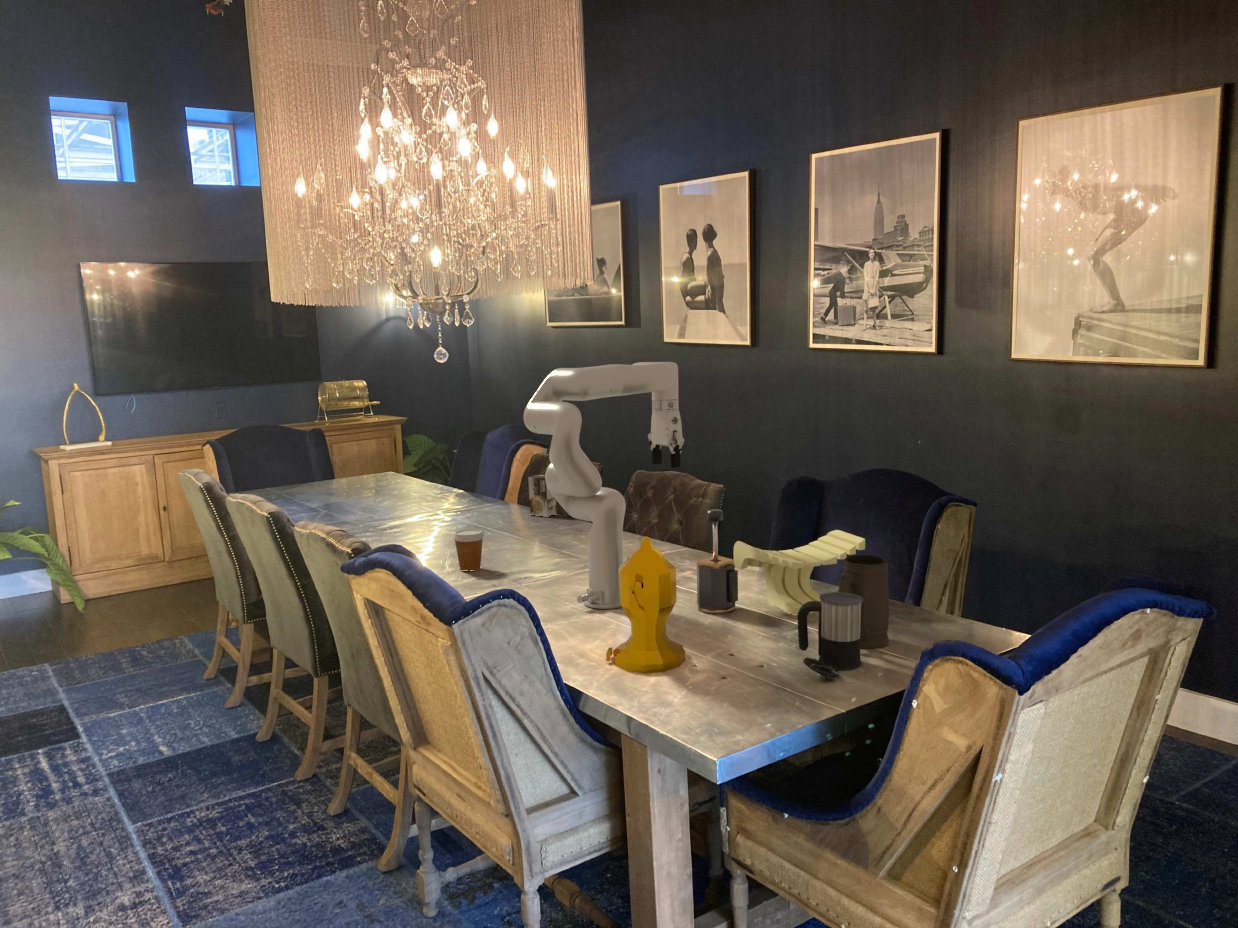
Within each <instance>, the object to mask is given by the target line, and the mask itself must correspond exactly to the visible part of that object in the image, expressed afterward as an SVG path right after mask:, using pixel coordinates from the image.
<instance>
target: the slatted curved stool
mask: <svg viewBox="0 0 1238 928" xmlns="http://www.w3.org/2000/svg"><path fill="white" fill-rule="evenodd" d="M857 550H858V551H863V550H866V538H863V537H862V536H857V535H855V534H852V533H849V532H845V531H843V530H840V529H834V530H831V531H829V532H827V533H826V535H823V536H821V537H818V538H817V540H814V541H811V542H809V543H808V544H806V545H803V546H802V545H801V546H800V547H799V546H798V547H795V548H793V549H792V548H791V549H785V550H778V551H777V550H768V549H767V550H766V549H761V548H759V547H754V546H751V545H749V544H747V543H745V542H743V541H740V540H737V541H735V543H734V545H733V553H732V554H733V560H734V565H735V568H737V569H739V570H740V571H741V570H744V569H747V568H748V567H749V566H750V567H751V568H752V567H753V568H754V567H761V571H762V572H763V576H764V580H765V587H766V589H765V590H766V595H765V596H766V602H767V601H768V602H770V603H772V604H774V605H776V606H777V607H779V608H781V609H783V610H785V611H787V612H789V613H790V614H792V615H794V614H798V611H799V609H800V608H801V606H802V605H803V604H805V603H807V602H809V601H821V600H820V598H819V597H820V595H821V594H818V592H816V591H815V590H814V589H813V587H812V586H811V584H810V583H811V582H810V580H811V579H810V578H811V574H812V572H813V570H814V567H820V566H821V565H822V566H827V565H834V564H835V565H836V564H838V560H844V559H845V558H847V556H848V555H849V556H854V555H857V553H856V552H857ZM768 602H767V603H768ZM777 607H776V608H777ZM790 614H789V615H790ZM792 615H791V616H792ZM794 616H795V615H794Z"/></svg>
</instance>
